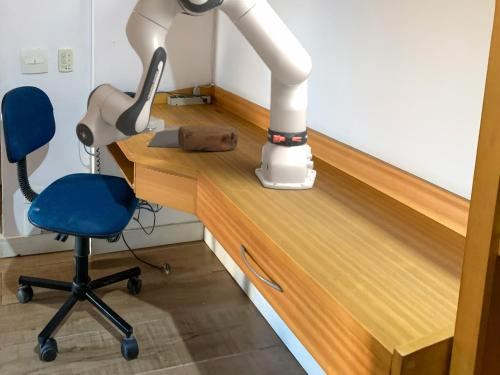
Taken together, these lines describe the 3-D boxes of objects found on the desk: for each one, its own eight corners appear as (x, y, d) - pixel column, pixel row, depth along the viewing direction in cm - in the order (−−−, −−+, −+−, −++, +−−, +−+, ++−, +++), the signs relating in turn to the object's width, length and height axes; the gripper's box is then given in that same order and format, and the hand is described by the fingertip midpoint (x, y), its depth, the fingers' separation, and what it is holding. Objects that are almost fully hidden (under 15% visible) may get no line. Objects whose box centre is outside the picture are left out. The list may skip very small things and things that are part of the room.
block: (177, 123, 210) (232, 124, 216) (176, 144, 212) (230, 144, 219) (184, 131, 200) (241, 132, 207) (183, 153, 203) (239, 153, 209)
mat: (198, 148, 211) (198, 147, 211) (147, 147, 211) (147, 146, 211) (204, 132, 234) (204, 131, 234) (157, 131, 234) (157, 130, 234)
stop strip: (204, 132, 234) (204, 126, 233) (157, 131, 234) (157, 125, 233) (204, 131, 236) (204, 125, 235) (158, 130, 236) (158, 124, 235)
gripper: (148, 119, 176) (175, 112, 188) (95, 111, 185) (124, 104, 197) (148, 140, 178) (175, 132, 190) (95, 130, 187) (125, 123, 199)
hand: (149, 118), depth 194 cm, fingers closed
